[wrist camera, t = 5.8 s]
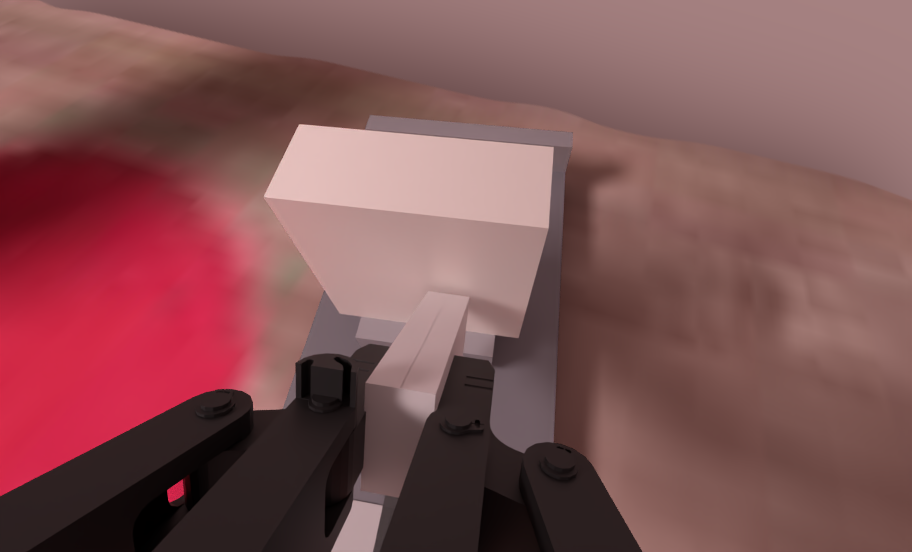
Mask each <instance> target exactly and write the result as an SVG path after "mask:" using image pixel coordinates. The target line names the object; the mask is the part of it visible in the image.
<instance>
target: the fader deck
mask: <svg viewBox="0 0 912 552" xmlns="http://www.w3.org/2000/svg"><path fill="white" fill-rule="evenodd" d="M365 130H369V131H380V132H392V133H403V134H414V135H425V136H436V137H447V138H458V139H469V140H481V141H492V142H503V143H514V144H525V145H536V146H547V147H554V151H553V167H552V183H551V198H550V214H549V229H548V232H547V236H546V240H545V243H544V247H543V251H542V254H541V258H540V262H539V265H538V269H537V272H536V276H535V280H534V283H533V287H532V291H531V294H530V298H529V302H528V305H527V309H526V313H525V316H524V320H523V323H522V327H521V331H520V334H519V338H513V337H506V336H499V335H495V341H494V349H493V358H492V366H493V368H494V369H495V376H494V386H493V396H492V406H491V416H490V428H491V430H492V432H493V434H494V435H495V436H496V437H497V438H498V440H500V441H501V442H502V443H504V444H505V445H507V446H509V447H511V448H513V449H514V450H517V451H519V452H522V453H525V451H526V449H527V448H528V447H530V446H532V445H534V444H536V443H543V442H551V443H554V423H555V400H556V376H557V353H558V330H559V307H560V284H561V260H562V237H563V214H564V191H565V172H566V168H567V165H568V161H569V158H570V154H571V150H572V142H573V132H562V131H550V130H539V129H527V128H516V127H504V126H492V125H481V124H469V123H457V122H446V121H434V120H422V119H411V118H399V117H387V116H376V115H370V117H369V120H368V122H367V125H366V127H365ZM360 319H361V317H360V316H353V315H346V314H340V313H339V312H338V310H337V309H336V307H335V306H334V304H333V302H332V301H331V299H330V298H329V296H328V295H327V293H326V292H325V290H324V292H323V295H322V298H321V301H320V304H319V307H318V310H317V312H316V315H315V318H314V321H313V324H312V327H311V329H310V332H309V335H308V338H307V341H306V344H305V347H304V349H303V352H302V355H301V358H300V360H301V359H303V358H305V357H308V356H312V355H315V354H324V353H331V354H341V355H344V356H348V357H351V356H352V355H353V353H354V352H355V351H356V350H357V349H359V348H361V346H360V344H359V343H358V341H357V340H356V338H355V337H356V333H357V330H358V326H359V323H360ZM295 398H296V372H295V375H294V378H293V381H292V384H291V387H290V389H289V392H288V395H287V398H286V401H285V404H284V407H283V409H286V408H287V407H288V406H289V404H290V403H291V402H292V401H293V400H294V399H295ZM360 488H361V473H360V475H359V477H358V479H357V481H356V483H355V485H354V491H353V503H352V508H351V511H350V513H349V515H348V517H347V519H346V521H345V523H344V525H343V528H342V530H341V532H340V534H339V536H338V538H337V540H336V542H335V544H334V547H333V549H332V551H331V552H380V549H381V546H382V543H383V540H384V538H385V535H386V532H387V529H388V526H389V523H390V521H391V518H392V515H393V512H394V509H395V507H396V504H397V501H398V498H397V497H392V496H387V495H381V494H376V493H371V492H366V491H361V490H360Z"/></svg>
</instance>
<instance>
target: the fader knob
mask: <svg viewBox="0 0 912 552" xmlns="http://www.w3.org/2000/svg"><path fill="white" fill-rule="evenodd" d="M553 151H554V147H547V146H536V145H525V144H514V143H503V142H492V141H481V140H469V139H458V138H447V137H436V136H425V135H414V134H403V133H392V132H380V131H369V130H358V129H347V128H336V127H325V126H314V125H303V124H299V126H298V128H297V130H296V132H295V134H294V136H293V138H292V140H291V142H290V144H289V146H288V148H287V150H286V152H285V154H284V156H283V158H282V160H281V162H280V164H279V166H278V169H277V171H276V173H275V175H274V177H273V179H272V181H271V183H270V185H269V187H268V189H267V191H266V193H265V195H264V199H265V200H266V202H267V203H268V205H269V206H270V208H271V209H272V211H273V212H274V214H275V215H276V217H277V218H278V220H279V222H280V223H281V225H282V226H283V228H284V229H285V231H286V232H287V234H288V235H289V237H290V238H291V240H292V241H293V243H294V244H295V246H296V247H297V249H298V251H299V252H300V254H301V255H302V257H303V258H304V260H305V261H306V263H307V264H308V266H309V267H310V269H311V270H312V272H313V273H314V275H315V277H316V278H317V280H318V281H319V283H320V284H321V286H322V287H323V289H324V290H325V292H326V293H327V295H328V296H329V298H330V299H331V301H332V302H333V304H334V306H335V307H336V309H337V310H338V312H339V313H340V314H346V315H353V316H360V317H361V319H360V323H359V326H358V330H357V333H356V337H355V338H356V340H357V341H358V343H359V344H360V346H361V347H364V346H366V345H368V344H376V345H383V346H389V347H390V346H391V345H392V343H393V342H394V340H395V339H396V337H397V336H398V335H399V333H400V332H401V330H402V329H403V327H404V326H405V324H406V323H407V321H408V320H409V319H410V317H411V316H412V314H413V313H414V311H415V310H416V308H417V307H418V305H419V304H420V303H421V301H422V300H423V298H424V297H425V295H426V294H427V292H428V291H431V292H438V293H445V294H452V295H460V296H467V297H470V298H469V307H468V316H467V324H466V333H465V342H464V351H463V357H469V358H476V359H482V360H489V362H490V363H491V365H492V358H493V349H494V341H495V335H499V336H506V337H513V338H519V334H520V331H521V327H522V323H523V320H524V316H525V313H526V309H527V305H528V302H529V298H530V294H531V291H532V287H533V283H534V280H535V276H536V272H537V269H538V265H539V262H540V258H541V254H542V251H543V247H544V243H545V240H546V236H547V232H548V229H549V214H550V198H551V183H552V167H553Z"/></svg>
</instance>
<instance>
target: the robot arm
mask: <svg viewBox="0 0 912 552" xmlns="http://www.w3.org/2000/svg"><path fill="white" fill-rule="evenodd" d="M469 298H470V297H467V296H460V295H452V294H445V293H438V292H431V291H428V292H427V294H426V295H425V297H424V298H423V300H422V301H421V303H420V304H419V305H418V307H417V308H416V310H415V311H414V313H413V314H412V316H411V317H410V319H409V320H408V321H407V323H406V324H405V326H404V327H403V329H402V330H401V332H400V333H399V335H398V336H397V337H396V339H395V340H394V342H393V343H392V345H391V346H390V347H389V346H383V345H376V344H368V345H366V346H364V347H361V348H359V349H357V350H356V351H355V352H354V353H353V355H352V356H351V357H348V356H344V355H341V354H331V353H324V354H315V355H312V356H308V357H305V358H303V359H301V360H300V361H298V362H296V398H295V399H294V400H293V401H292V402H291V403H290V404H289V406H288V407H287V408H286V409H280V410H256V411H253V402H252V399H251V396H250V395H248V394H246V393H245V392H243V391H238V390H233V389H226V390H224V389H218V390H215V391H210V392H205V393H203V394H200V395H198V396H195V397H193V398H191V399H189V400H187V401H185V402H183V403H181V404H179V405H177V406H175V407H173V408H171V409H169V410H167V411H165V412H164V413H162V414H160V415H158V416H156V417H154V418H152V419H150V420H148V421H146V422H144V423H142V424H140V425H138V426H136V427H134V428H132V429H130V430H129V431H127V432H125V433H123V434H121V435H119V436H117V437H115V438H113V439H111V440H109V441H107V442H105V443H103V444H101V445H99V446H97V447H95V448H93V449H92V450H90V451H88V452H86V453H84V454H82V455H80V456H78V457H76V458H74V459H72V460H70V461H68V462H66V463H64V464H62V465H60V466H58V467H57V468H55V469H53V470H51V471H49V472H47V473H45V474H43V475H41V476H39V477H37V478H35V479H33V480H31V481H29V482H27V483H25V484H23V485H22V486H20V487H18V488H16V489H14V490H12V491H10V492H8V493H6V494H4V495H2V496H0V552H331V551H332V549H333V547H334V544H335V542H336V540H337V538H338V536H339V534H340V532H341V530H342V528H343V525H344V523H345V521H346V519H347V517H348V515H349V513H350V511H351V508H352V503H353V491H354V485H355V483H356V481H357V479H358V477H359V475H360V473H361V488H360V490H361V491H366V492H371V493H376V494H381V495H387V496H392V497H397V498H398V501H397V504H396V507H395V509H394V512H393V515H392V518H391V521H390V523H389V526H388V529H387V532H386V535H385V538H384V540H383V543H382V546H381V549H380V552H642V550H641V549H640V547H639V545H638V543H637V542H636V540H635V538H634V537H633V535H632V533H631V531H630V530H629V528H628V526H627V524H626V523H625V521H624V519H623V518H622V516H621V514H620V512H619V511H618V509H617V507H616V505H615V504H614V502H613V500H612V498H611V497H610V495H609V493H608V492H607V490H606V488H605V486H604V485H603V483H602V481H601V479H600V478H599V476H598V474H597V472H596V471H595V469H594V467H593V466H592V464H591V463H590V462H589V461H588V460H587V459H586V457H585V456H583V455H582V454H580V453H579V452H577V451H576V450H574V449H572V448H570V447H567V446H565V445H562V444H558V443H551V442H543V443H536V444H534V445H532V446H530V447H528V448H527V449H526V451H525V453H522V452H519V451H517V450H514V449H513V448H511V447H509V446H507V445H505V444H504V443H502V442H501V441H500V440H498V438H497V437H496V436H495V435H494V434H493V432H492V430H491V428H490V416H491V406H492V396H493V386H494V376H495V369H494V368H493V366H492V365H491V363H490V362H489V360H482V359H476V358H469V357H463V351H464V342H465V333H466V324H467V316H468V307H469ZM182 479H183V487H184V495H183V496H181V497H180V498H179V499H177V500H175V501H173V502H170V503H169V501H168V495H167V490H168V489H169V488H170V487H172V486H173V485H175V484H176V483H178V482H179V481H181V480H182Z"/></svg>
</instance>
